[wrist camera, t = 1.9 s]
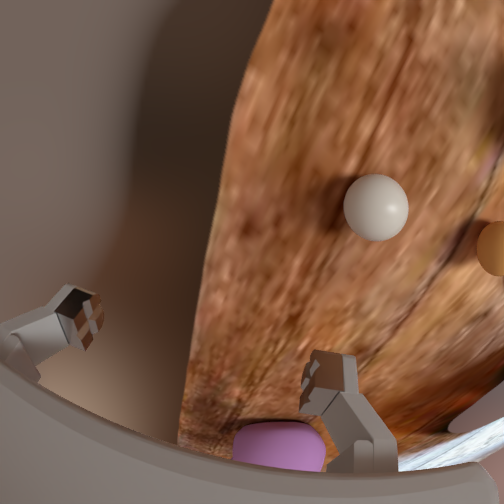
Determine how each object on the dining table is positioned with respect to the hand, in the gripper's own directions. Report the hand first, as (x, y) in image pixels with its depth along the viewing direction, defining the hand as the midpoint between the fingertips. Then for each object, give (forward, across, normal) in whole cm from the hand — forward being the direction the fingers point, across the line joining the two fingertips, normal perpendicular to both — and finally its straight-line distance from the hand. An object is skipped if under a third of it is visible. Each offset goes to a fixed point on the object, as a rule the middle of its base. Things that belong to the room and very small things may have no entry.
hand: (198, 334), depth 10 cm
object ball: (+16, -25, 0) cm, 29 cm away
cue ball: (+16, -10, 0) cm, 18 cm away
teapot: (+20, -13, +50) cm, 56 cm away
